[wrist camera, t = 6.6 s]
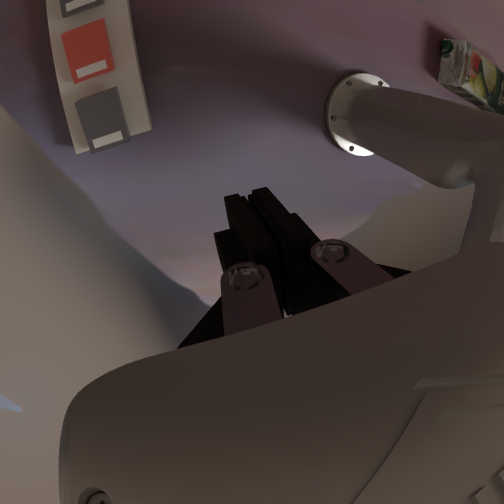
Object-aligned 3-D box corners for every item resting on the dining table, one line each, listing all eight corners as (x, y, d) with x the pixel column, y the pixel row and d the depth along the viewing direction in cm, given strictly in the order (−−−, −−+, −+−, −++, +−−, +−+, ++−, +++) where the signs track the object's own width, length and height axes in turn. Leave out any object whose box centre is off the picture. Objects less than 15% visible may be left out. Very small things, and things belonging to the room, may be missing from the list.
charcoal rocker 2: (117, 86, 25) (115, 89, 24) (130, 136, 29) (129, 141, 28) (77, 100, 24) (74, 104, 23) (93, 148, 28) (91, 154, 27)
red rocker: (104, 17, 20) (102, 18, 19) (115, 67, 25) (113, 70, 24) (64, 32, 19) (60, 34, 18) (77, 80, 24) (74, 84, 23)
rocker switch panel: (124, -33, 20) (121, -45, 17) (152, 125, 33) (150, 131, 29) (54, -8, 19) (42, -16, 15) (83, 147, 31) (74, 156, 28)
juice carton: (432, 82, 38) (459, 88, 33) (438, 34, 33) (465, 36, 28) (485, 114, 44) (507, 122, 39) (491, 74, 39) (513, 80, 34)
